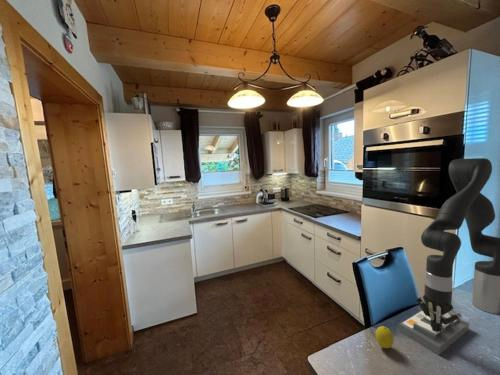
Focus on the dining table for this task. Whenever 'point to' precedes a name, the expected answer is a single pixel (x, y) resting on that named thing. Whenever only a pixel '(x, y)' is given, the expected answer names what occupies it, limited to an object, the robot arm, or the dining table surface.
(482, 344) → the dining table surface
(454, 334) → the switch unit
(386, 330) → the lemon
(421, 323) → the switch
